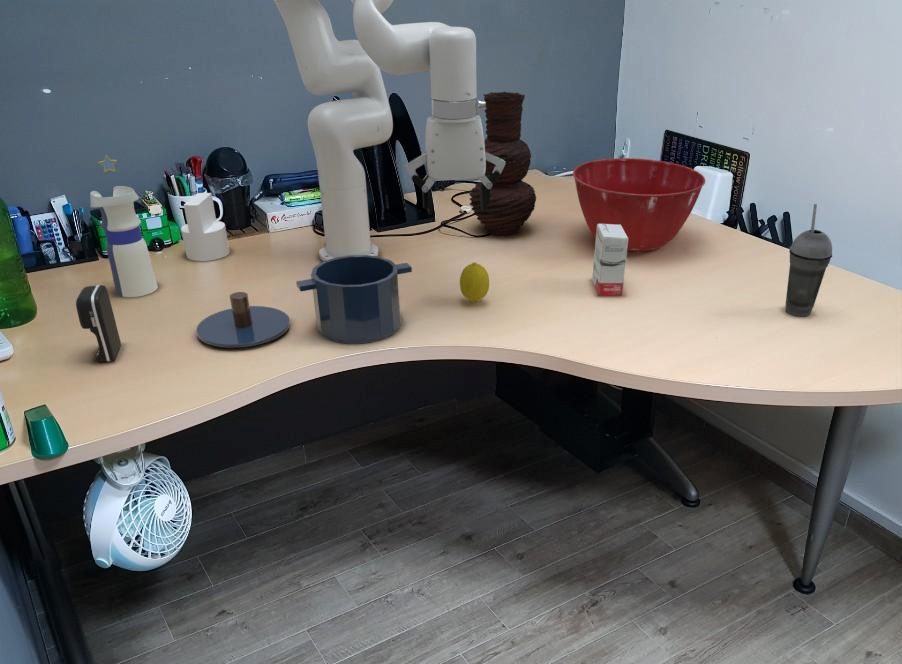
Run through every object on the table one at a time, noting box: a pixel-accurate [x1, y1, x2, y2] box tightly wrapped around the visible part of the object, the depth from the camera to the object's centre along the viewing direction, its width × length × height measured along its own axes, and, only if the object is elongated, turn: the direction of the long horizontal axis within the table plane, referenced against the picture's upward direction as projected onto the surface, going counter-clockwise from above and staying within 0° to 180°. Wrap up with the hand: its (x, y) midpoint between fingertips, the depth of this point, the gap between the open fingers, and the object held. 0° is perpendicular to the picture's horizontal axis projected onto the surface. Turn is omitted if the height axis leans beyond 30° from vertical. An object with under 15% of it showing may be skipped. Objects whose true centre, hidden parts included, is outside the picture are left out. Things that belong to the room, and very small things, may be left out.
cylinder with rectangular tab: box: [180, 192, 230, 262], centre depth 171 cm, size 9×9×12 cm
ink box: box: [591, 224, 628, 297], centre depth 155 cm, size 8×5×12 cm, turn 2°
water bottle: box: [89, 154, 159, 298], centre depth 150 cm, size 8×9×25 cm
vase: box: [469, 91, 537, 236], centre depth 180 cm, size 15×15×30 cm
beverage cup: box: [784, 203, 833, 318], centre depth 143 cm, size 7×7×20 cm
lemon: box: [459, 262, 490, 304], centre depth 150 cm, size 6×6×8 cm
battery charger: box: [75, 284, 122, 362], centre depth 130 cm, size 7×4×11 cm, turn 12°
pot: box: [295, 255, 413, 345], centre depth 140 cm, size 15×20×10 cm
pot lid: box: [196, 291, 291, 349], centre depth 139 cm, size 16×16×7 cm
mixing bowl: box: [572, 157, 706, 254], centre depth 177 cm, size 28×28×16 cm
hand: (456, 210), depth 142 cm, fingers open, 9 cm apart
